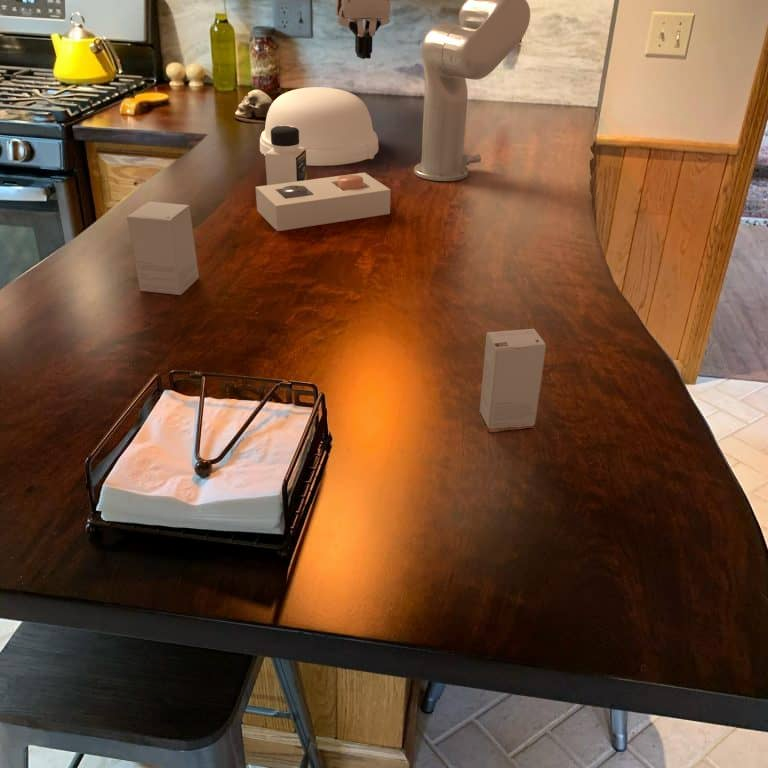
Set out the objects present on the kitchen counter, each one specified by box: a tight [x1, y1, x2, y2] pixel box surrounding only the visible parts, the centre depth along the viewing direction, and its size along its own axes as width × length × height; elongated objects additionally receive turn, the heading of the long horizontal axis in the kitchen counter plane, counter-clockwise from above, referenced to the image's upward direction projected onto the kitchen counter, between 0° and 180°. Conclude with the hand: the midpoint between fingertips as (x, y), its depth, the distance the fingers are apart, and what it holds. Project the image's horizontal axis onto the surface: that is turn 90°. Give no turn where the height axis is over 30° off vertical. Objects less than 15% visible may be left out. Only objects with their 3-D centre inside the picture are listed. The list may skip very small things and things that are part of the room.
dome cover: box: [259, 86, 379, 167], centre depth 191 cm, size 32×30×14 cm
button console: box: [255, 172, 391, 232], centre depth 154 cm, size 24×12×5 cm, turn 117°
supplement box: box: [126, 201, 200, 296], centre depth 122 cm, size 7×7×13 cm
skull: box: [233, 89, 274, 124], centre depth 218 cm, size 12×10×10 cm
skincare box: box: [479, 328, 547, 429], centre depth 91 cm, size 6×4×12 cm
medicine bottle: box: [264, 125, 308, 185], centre depth 168 cm, size 7×7×12 cm
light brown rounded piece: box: [338, 174, 363, 191], centre depth 155 cm, size 5×5×4 cm
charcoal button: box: [282, 185, 308, 199], centre depth 151 cm, size 5×5×4 cm
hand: (363, 57), depth 152 cm, fingers closed
